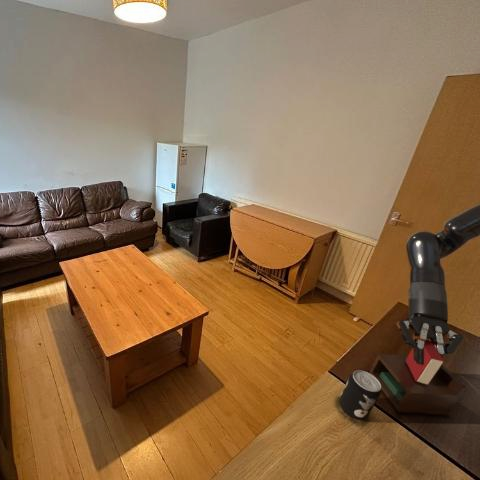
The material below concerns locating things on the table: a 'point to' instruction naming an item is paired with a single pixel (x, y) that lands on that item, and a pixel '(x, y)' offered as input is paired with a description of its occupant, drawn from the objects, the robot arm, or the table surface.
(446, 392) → the bookshelf
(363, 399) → the beverage can
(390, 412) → the table surface
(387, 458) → the table surface
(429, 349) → the book
